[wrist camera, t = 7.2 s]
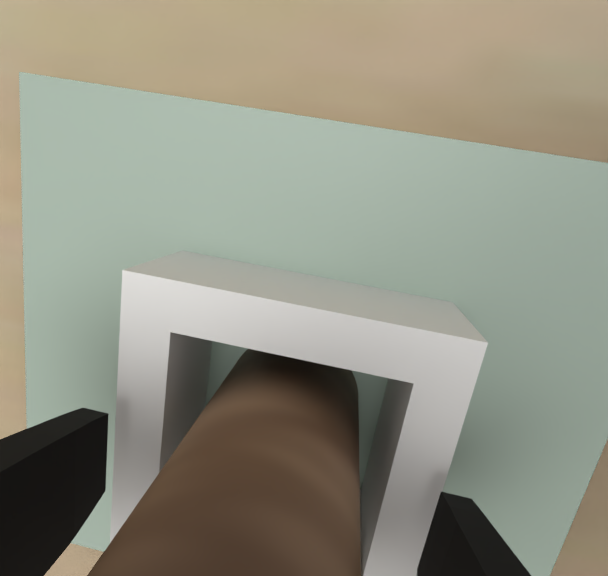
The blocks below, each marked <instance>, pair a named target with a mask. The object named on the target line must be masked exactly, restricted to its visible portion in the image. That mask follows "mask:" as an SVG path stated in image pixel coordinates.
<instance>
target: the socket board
mask: <svg viewBox="0 0 608 576" xmlns="http://www.w3.org/2000/svg"><path fill="white" fill-rule="evenodd" d="M19 84H20V132H21V179H22V226H23V274H24V321H25V368H26V415H27V429H28V428H30V427H33V426H35V425H38V424H40V423H43V422H45V421H48V420H50V419H53V418H55V417H58V416H60V415H63V414H66V413H68V412H71V411H74V410H77V409H80V408H87V409H91V410H96V411H100V412H104V413H108V414H109V415H108V439H107V464H106V489H105V492H104V494H103V495H102V497H101V499H100V500H99V502H98V503H97V505H96V506H95V508H94V509H93V511H92V513H91V514H90V516H89V517H88V519H87V520H86V522H85V523H84V524H83V526H82V527H81V529H80V530H79V532H78V533H77V535H76V536H75V538H74V539H73V540H72V542H71V543H73V544H77V545H81V546H84V547H88V548H92V549H95V550H99V551H103V552H104V551H105V550H106V548H107V547H108V545H109V544H110V543H111V541H112V540H113V538H114V537H115V535H116V534H117V533H118V531H119V530H120V528H121V527H122V525H123V524H124V523H125V521H126V520H127V518H128V517H129V515H130V514H131V513H132V511H133V510H134V508H135V507H136V505H137V504H138V502H139V501H140V500H141V498H142V497H143V495H144V494H145V492H146V491H147V490H148V488H149V487H150V485H151V484H152V482H153V481H154V480H155V478H156V477H157V475H158V474H159V472H160V471H161V470H162V468H163V467H164V465H165V464H166V462H167V461H168V460H169V458H170V457H171V455H172V454H173V452H174V451H175V450H176V448H177V447H178V445H179V444H180V442H181V441H182V440H183V438H184V437H185V435H186V434H187V432H188V431H189V430H190V428H191V427H192V425H193V424H194V422H195V421H196V420H197V418H198V417H199V415H200V414H201V412H202V411H203V410H204V408H205V407H206V405H207V404H208V402H209V401H210V400H211V398H212V397H213V395H214V394H215V392H216V391H217V390H218V388H219V387H220V385H221V384H222V382H223V381H224V380H225V378H226V377H227V375H228V374H229V372H230V371H231V370H232V368H233V367H234V365H235V364H236V362H237V361H238V360H239V358H240V357H241V356H242V354H243V353H244V352H245V351H246V350H247V349H253V350H258V351H262V352H267V353H272V354H276V355H281V356H286V357H291V358H295V359H300V360H305V361H310V362H314V363H319V364H324V365H328V366H333V367H338V368H343V369H347V370H352V373H353V375H354V377H355V380H356V383H357V388H358V403H359V473H360V542H361V576H417V568H418V564H419V561H420V558H421V555H422V551H423V548H424V545H425V542H426V538H427V535H428V532H429V529H430V525H431V522H432V519H433V516H434V512H435V509H436V506H437V503H438V499H439V496H440V493H441V492H445V493H450V494H454V495H458V496H462V497H467V498H471V499H472V500H473V501H474V502H475V503H476V505H477V506H478V507H479V508H480V510H481V511H482V512H483V513H484V515H485V516H486V517H487V519H488V520H489V521H490V523H491V524H492V525H493V526H494V528H495V529H496V530H497V532H498V533H499V534H500V536H501V537H502V538H503V540H504V541H505V542H506V543H507V545H508V546H509V547H510V549H511V550H512V551H513V553H514V554H515V555H516V556H517V558H518V559H519V560H520V562H521V563H522V564H523V566H524V567H525V568H526V569H527V571H528V572H529V573H530V575H531V576H550V574H551V572H552V569H553V567H554V564H555V562H556V560H557V557H558V555H559V553H560V550H561V548H562V545H563V543H564V541H565V538H566V536H567V534H568V531H569V529H570V527H571V524H572V522H573V519H574V517H575V515H576V512H577V510H578V508H579V505H580V503H581V500H582V498H583V496H584V493H585V491H586V489H587V486H588V484H589V482H590V479H591V477H592V474H593V472H594V470H595V467H596V465H597V463H598V460H599V458H600V455H601V453H602V451H603V448H604V446H605V444H606V441H607V439H608V163H604V162H598V161H591V160H585V159H578V158H572V157H565V156H559V155H553V154H546V153H540V152H533V151H527V150H520V149H514V148H507V147H501V146H495V145H488V144H482V143H475V142H469V141H462V140H456V139H449V138H443V137H436V136H430V135H424V134H417V133H411V132H404V131H398V130H391V129H385V128H378V127H372V126H365V125H359V124H353V123H346V122H340V121H333V120H327V119H320V118H314V117H307V116H301V115H294V114H288V113H282V112H275V111H269V110H262V109H256V108H249V107H243V106H236V105H230V104H223V103H217V102H211V101H204V100H198V99H191V98H185V97H178V96H172V95H165V94H159V93H152V92H146V91H140V90H133V89H127V88H120V87H114V86H107V85H101V84H94V83H88V82H82V81H75V80H69V79H62V78H56V77H49V76H43V75H36V74H30V73H23V72H19Z"/></svg>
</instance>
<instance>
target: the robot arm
mask: <svg viewBox="0 0 608 576" xmlns="http://www.w3.org/2000/svg"><path fill="white" fill-rule="evenodd" d="M108 415H109V414H108V413H104V412H100V411H96V410H91V409H87V408H80V409H77V410H74V411H71V412H68V413H66V414H63V415H60V416H58V417H55V418H53V419H50V420H48V421H45V422H43V423H40V424H38V425H35V426H33V427H30V428H28V429H25V430H23V431H20V432H18V433H15V434H13V435H10V436H8V437H6V438H3V439H1V440H0V576H44V575H45V573H46V572H47V571H48V570H49V569H50V567H51V566H52V565H53V564H54V563H55V561H56V560H57V559H58V558H59V556H60V555H61V554H62V553H63V552H64V550H65V549H66V548H67V547H68V545H69V544H70V543H71V542H72V540H73V539H74V538H75V536H76V535H77V533H78V532H79V530H80V529H81V527H82V526H83V524H84V523H85V522H86V520H87V519H88V517H89V516H90V514H91V513H92V511H93V509H94V508H95V506H96V505H97V503H98V502H99V500H100V499H101V497H102V495H103V494H104V492H105V489H106V464H107V439H108ZM417 576H531V575H530V573H529V572H528V571H527V569H526V568H525V567H524V566H523V564H522V563H521V562H520V560H519V559H518V558H517V556H516V555H515V554H514V553H513V551H512V550H511V549H510V547H509V546H508V545H507V543H506V542H505V541H504V540H503V538H502V537H501V536H500V534H499V533H498V532H497V530H496V529H495V528H494V526H493V525H492V524H491V523H490V521H489V520H488V519H487V517H486V516H485V515H484V513H483V512H482V511H481V510H480V508H479V507H478V506H477V505H476V503H475V502H474V501H473V500H472V499H471V498H467V497H462V496H458V495H454V494H450V493H445V492H441V493H440V496H439V499H438V503H437V506H436V509H435V512H434V516H433V519H432V522H431V525H430V529H429V532H428V535H427V538H426V542H425V545H424V548H423V551H422V555H421V558H420V561H419V564H418V568H417Z"/></svg>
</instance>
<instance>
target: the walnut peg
mask: <svg viewBox="0 0 608 576" xmlns="http://www.w3.org/2000/svg"><path fill="white" fill-rule="evenodd" d="M87 576H361V542H360V473H359V403H358V388H357V383H356V380H355V377H354V375H353V373H352V370H347V369H343V368H338V367H333V366H328V365H324V364H319V363H314V362H310V361H305V360H300V359H295V358H291V357H286V356H281V355H276V354H272V353H267V352H262V351H258V350H253V349H247V350H246V351H245V352H244V353H243V354H242V356H241V357H240V358H239V360H238V361H237V362H236V364H235V365H234V367H233V368H232V370H231V371H230V372H229V374H228V375H227V377H226V378H225V380H224V381H223V382H222V384H221V385H220V387H219V388H218V390H217V391H216V392H215V394H214V395H213V397H212V398H211V400H210V401H209V402H208V404H207V405H206V407H205V408H204V410H203V411H202V412H201V414H200V415H199V417H198V418H197V420H196V421H195V422H194V424H193V425H192V427H191V428H190V430H189V431H188V432H187V434H186V435H185V437H184V438H183V440H182V441H181V442H180V444H179V445H178V447H177V448H176V450H175V451H174V452H173V454H172V455H171V457H170V458H169V460H168V461H167V462H166V464H165V465H164V467H163V468H162V470H161V471H160V472H159V474H158V475H157V477H156V478H155V480H154V481H153V482H152V484H151V485H150V487H149V488H148V490H147V491H146V492H145V494H144V495H143V497H142V498H141V500H140V501H139V502H138V504H137V505H136V507H135V508H134V510H133V511H132V513H131V514H130V515H129V517H128V518H127V520H126V521H125V523H124V524H123V525H122V527H121V528H120V530H119V531H118V533H117V534H116V535H115V537H114V538H113V540H112V541H111V543H110V544H109V545H108V547H107V548H106V550H105V551H104V553H103V554H102V555H101V557H100V558H99V560H98V561H97V563H96V564H95V565H94V567H93V568H92V570H91V571H90V573H89V574H88V575H87Z"/></svg>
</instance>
